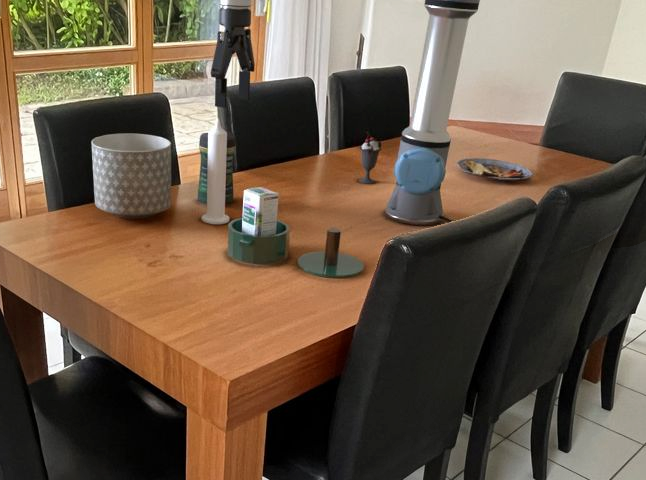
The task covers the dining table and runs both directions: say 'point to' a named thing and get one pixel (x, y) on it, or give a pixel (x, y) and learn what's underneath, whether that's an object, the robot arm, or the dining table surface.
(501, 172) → the food plate
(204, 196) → the coffee jar
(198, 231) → the dining table surface
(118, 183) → the planter
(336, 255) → the pot lid
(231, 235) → the pot
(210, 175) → the white syringe
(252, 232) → the syrup box
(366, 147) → the sundae
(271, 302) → the dining table surface
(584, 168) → the dining table surface
